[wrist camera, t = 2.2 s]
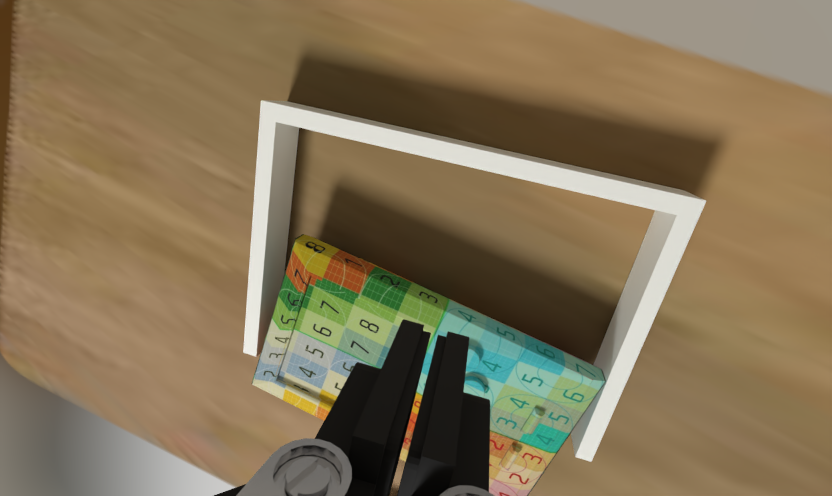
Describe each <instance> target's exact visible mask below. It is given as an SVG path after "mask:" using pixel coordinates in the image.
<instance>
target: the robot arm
mask: <svg viewBox="0 0 832 496" xmlns="http://www.w3.org/2000/svg"><path fill="white" fill-rule="evenodd" d="M423 328H424V325H423V324H419V323H416V322H412V321H408V320H405V319H403V320H402V322H401V324H400V327H399V329H398V331H397V333H396V336H395V338H394V340H393V343H392V345H391V347H390V350H389V352H388V354H387V357H386V359H385V361H384V364H383V366H382V368H381V369H380V368H377V367H373V366H370V365H366V364H363V363H359V362H357V363H356V364H355V366H354V367H353V369H352V371H351V373H350V375H349V376H348V378H347V380H346V382H345V384H344V386H343V387H342V389H341V391H340V393H339V395H338V397H337V399H336V400H335V402H334V404H333V406H332V408H331V410H330V412H329V413H328V415H327V417H326V419H325V421H324V423H323V425H322V426H321V428H320V430H319V432H318V434H317V436H316V438H315V439H307V438H306V439H301V440H296V441H292V442H290V443H288V444H286V445H284V446H282V447H280V448H279V449H278V450H277V451H276V452H275V453H273V454H272V455H271V456H270V458H269V459H268V460H267V461H266V462H265V463H264V464H263V466H262V467H261V468H260V469H259V470H258V471H257V472H256V474H255V475H254V476H253V477H252V478H251V479H250V480H249V482H248V483H247V484H245V485H242V486H239V487H237V488H234V489H231V490H228V491H225V492H223V493H220V494H217V495H214V496H389V494H390V490H391V487H392V483H393V479H394V476H395V472H396V468H397V465H398V461H399V457H400V454H401V450H402V446H403V443H404V439H405V435H406V432H407V428H408V424H409V420H410V416H411V412H412V408H413V404H414V400H415V396H416V392H417V388H418V384H419V380H420V376H421V372H422V368H423V363H424V359H425V355H426V351H427V347H428V343H429V339H430V335H431V333H430V332H426V331H423ZM468 347H469V337H467V336H464V335H460V334H456V333H453V332H449V331H448V332H447V336H446V337H445V336H441V335H438V336H437V340H436V344H435V348H434V352H433V356H432V360H431V364H430V368H429V372H428V376H427V380H426V383H425V387H424V391H423V395H422V399H421V403H420V407H419V411H418V415H417V419H416V423H415V427H414V431H413V435H412V439H411V443H410V447H409V451H408V455H407V458H406V462H405V466H404V470H403V474H402V478H401V482H400V486H399V490H398V494H397V496H495V495H493V494H491V493H489V459H490V400H489V399H486V398H482V397H479V396H475V395H472V394H468V393H465V392H464V383H465V374H466V365H467V356H468Z"/></svg>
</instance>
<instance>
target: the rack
mask: <svg viewBox="0 0 832 496" xmlns="http://www.w3.org/2000/svg"><path fill="white" fill-rule="evenodd" d="M299 128H304V129H308V130H312V131H317V132H321V133H325V134H330V135H334V136H338V137H342V138H347V139H351V140H355V141H360V142H364V143H368V144H373V145H377V146H381V147H386V148H390V149H394V150H398V151H403V152H407V153H411V154H416V155H420V156H424V157H429V158H433V159H437V160H442V161H446V162H450V163H454V164H459V165H463V166H467V167H472V168H476V169H480V170H485V171H489V172H493V173H498V174H502V175H506V176H511V177H515V178H519V179H523V180H528V181H532V182H536V183H541V184H545V185H549V186H554V187H558V188H562V189H567V190H571V191H575V192H579V193H584V194H588V195H592V196H597V197H601V198H605V199H610V200H614V201H618V202H623V203H627V204H631V205H636V206H640V207H644V208H648V209H653V210H655V212H654V215H653V217H652V220H651V222H650V225H649V227H648V230H647V232H646V235H645V237H644V240H643V242H642V245H641V247H640V250H639V252H638V255H637V257H636V260H635V262H634V265H633V267H632V270H631V272H630V275H629V277H628V279H627V282H626V284H625V287H624V289H623V292H622V294H621V297H620V299H619V302H618V304H617V307H616V309H615V312H614V314H613V317H612V319H611V322H610V324H609V327H608V329H607V332H606V334H605V337H604V339H603V342H602V344H601V347H600V349H599V352H598V354H597V357H596V359H595V362H594V364H593V365H594V366H596V367H598V368H600V369H602V371H603V374H604V377H605V380H606V382H605V384H604V385H603V387H602V388H601V390H600V391H599V393H598V394H597V396H596V397H595V398H594V400H593V401H592V403H591V404H590V406H589V407H588V409H587V410H586V412H585V413H584V415H583V416H582V417H581V419H580V420H579V422H578V423H577V425H576V426H575V428H574V429H573V431H572V432H571V436H572V442H573V447H574V453H575V457H577V458H581V459H584V460H587V461H590V462H592V459H593V457H594V455H595V452H596V450H597V448H598V446H599V443H600V441H601V439H602V437H603V434H604V432H605V430H606V427H607V425H608V423H609V421H610V418H611V416H612V414H613V412H614V409H615V407H616V405H617V403H618V400H619V398H620V396H621V393H622V391H623V389H624V387H625V384H626V382H627V380H628V378H629V375H630V373H631V371H632V368H633V366H634V364H635V362H636V359H637V357H638V355H639V353H640V350H641V348H642V346H643V343H644V341H645V339H646V337H647V334H648V332H649V330H650V328H651V325H652V323H653V321H654V318H655V316H656V314H657V312H658V309H659V307H660V305H661V303H662V300H663V298H664V296H665V294H666V291H667V289H668V287H669V284H670V282H671V280H672V278H673V275H674V273H675V271H676V269H677V266H678V264H679V262H680V259H681V257H682V255H683V253H684V250H685V248H686V246H687V244H688V241H689V239H690V237H691V234H692V232H693V230H694V228H695V225H696V223H697V221H698V219H699V216H700V214H701V212H702V209H703V207H704V205H705V203H706V200H704V199H702V198H699V197H697V196H695V195H693V194H691V193H689V192H687V191H684V190H681V189H676V188H672V187H667V186H663V185H658V184H654V183H649V182H645V181H640V180H636V179H631V178H627V177H623V176H618V175H614V174H609V173H605V172H600V171H596V170H591V169H587V168H582V167H578V166H573V165H569V164H565V163H560V162H556V161H551V160H547V159H542V158H538V157H533V156H529V155H524V154H520V153H515V152H511V151H507V150H502V149H498V148H493V147H489V146H484V145H480V144H475V143H471V142H466V141H462V140H457V139H453V138H449V137H444V136H440V135H435V134H431V133H426V132H422V131H417V130H413V129H408V128H404V127H399V126H395V125H391V124H386V123H382V122H377V121H373V120H368V119H364V118H359V117H355V116H350V115H346V114H341V113H337V112H333V111H328V110H324V109H319V108H315V107H310V106H306V105H301V104H297V103H292V102H288V101H268V100H261V108H260V122H259V136H258V151H257V165H256V179H255V193H254V208H253V222H252V236H251V250H250V264H249V279H248V293H247V307H246V321H245V336H244V350H243V353H246V354H250V355H253V356H257V355H258V354H260V353H261V351H262V348H263V345H264V341H265V338H266V335H267V331H268V328H269V325H270V321H271V318H272V315H273V311H274V308H275V305H276V301H277V298H278V295H279V291H280V288H281V285H282V281H283V278H284V273H285V263H286V253H287V244H288V234H289V224H290V214H291V204H292V194H293V184H294V174H295V165H296V155H297V145H298V135H299Z"/></svg>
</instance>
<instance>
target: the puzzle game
mask: <svg viewBox="0 0 832 496" xmlns="http://www.w3.org/2000/svg"><path fill="white" fill-rule="evenodd" d="M403 319H405V320H408V321H412V322H416V323H419V324H423V325H424V328H423V331H426V332H430V333H431V335H430V339H429V343H428V347H427V351H426V355H425V359H424V363H423V368H422V372H421V376H420V380H419V384H418V388H417V392H416V396H415V400H414V404H413V408H412V412H411V416H410V420H409V424H408V428H407V432H406V435H405V439H404V443H403V446H402V450H401V454H400V457H399V459H401V460H403V461H405V462H406V458H407V455H408V451H409V447H410V443H411V439H412V435H413V431H414V427H415V423H416V419H417V415H418V411H419V407H420V403H421V399H422V395H423V391H424V387H425V383H426V380H427V376H428V372H429V368H430V364H431V360H432V356H433V352H434V348H435V344H436V340H437V336H438V335H441V336H445V337H446V336H447V332H448V331H449V332H453V333H456V334H460V335H464V336H467V337H469V347H468V356H467V365H466V374H465V383H464V392H465V393H468V394H472V395H475V396H479V397H482V398H486V399H489V400H490V459H489V493H491V494H493V495H495V496H528V495H529V493H530V492H531V490H532V489H533V487H534V486H535V484H536V483H537V482H538V480H539V479H540V477H541V476H542V474H543V473H544V471H545V470H546V468H547V467H548V466H549V464H550V463H551V461H552V460H553V458H554V457H555V455H556V454H557V452H558V451H559V449H560V448H561V447H562V445H563V444H564V442H565V441H566V439H567V438H568V436H569V435H570V433H571V432H572V431H573V429H574V428H575V426H576V425H577V423H578V422H579V420H580V419H581V417H582V416H583V415H584V413H585V412H586V410H587V409H588V407H589V406H590V404H591V403H592V401H593V400H594V398H595V397H596V396H597V394H598V393H599V391H600V390H601V388H602V387H603V385H604V384H605V382H606V380H605V377H604V374H603V371H602V369H600V368H598V367H596V366H594V365H592V364H590V363H588V362H586V361H584V360H582V359H580V358H578V357H575V356H573V355H571V354H569V353H567V352H564V351H562V350H560V349H558V348H556V347H554V346H551V345H549V344H547V343H545V342H543V341H540V340H538V339H536V338H534V337H532V336H529V335H527V334H525V333H523V332H521V331H519V330H516V329H514V328H512V327H510V326H508V325H505V324H503V323H501V322H499V321H497V320H495V319H492V318H490V317H488V316H486V315H484V314H481V313H479V312H477V311H475V310H473V309H470V308H468V307H466V306H464V305H462V304H460V303H457V302H455V301H453V300H451V299H449V298H446V297H444V296H442V295H440V294H438V293H436V292H433V291H431V290H429V289H427V288H425V287H422V286H420V285H418V284H416V283H414V282H411V281H409V280H407V279H405V278H403V277H401V276H398V275H396V274H394V273H392V272H390V271H387V270H385V269H383V268H381V267H379V266H376V265H374V264H372V263H370V262H368V261H366V260H363V259H361V258H357V257H355V256H353V255H351V254H348V253H346V252H344V251H342V250H340V249H337V248H335V247H333V246H331V245H329V244H327V243H324V242H322V241H320V240H318V239H316V238H313V237H310V236H307V235H304V234H302V235H301V236H299V237H297V238H296V239H295V241H294V245H293V248H292V251H291V255H290V258H289V261H288V265H287V268H286V271H285V275H284V278H283V281H282V285H281V288H280V291H279V295H278V298H277V301H276V305H275V308H274V311H273V315H272V318H271V321H270V325H269V328H268V331H267V335H266V338H265V341H264V345H263V348H262V351H261V355H260V358H259V361H258V365H257V368H256V371H255V374H254V378H253V381H252V385H254V386H256V387H258V388H260V389H262V390H264V391H266V392H268V393H270V394H272V395H274V396H276V397H278V398H280V399H282V400H284V401H286V402H288V403H290V404H292V405H294V406H296V407H298V408H300V409H302V410H304V411H306V412H308V413H310V414H312V415H314V416H316V417H318V418H320V419H322V420H324V421H325V419H326V417H327V415H328V413H329V412H330V410H331V408H332V406H333V404H334V402H335V400H336V399H337V397H338V395H339V393H340V391H341V389H342V387H343V386H344V384H345V382H346V380H347V378H348V376H349V375H350V373H351V371H352V369H353V367H354V366H355V364H356V363H357V362H359V363H363V364H366V365H370V366H373V367H377V368H380V369H381V368H382V366H383V364H384V361H385V359H386V357H387V354H388V352H389V350H390V347H391V345H392V343H393V340H394V338H395V336H396V333H397V331H398V329H399V327H400V324H401V322H402V320H403Z"/></svg>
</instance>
